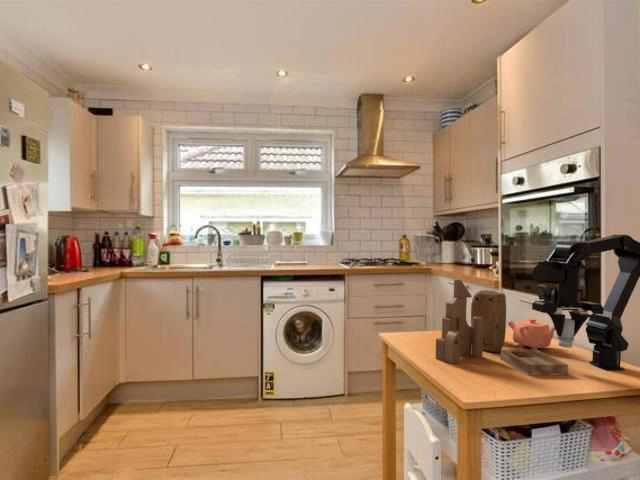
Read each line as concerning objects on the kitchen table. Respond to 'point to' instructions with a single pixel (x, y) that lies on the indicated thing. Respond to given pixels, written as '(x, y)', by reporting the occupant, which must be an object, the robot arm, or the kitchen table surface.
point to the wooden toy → (459, 329)
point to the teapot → (532, 333)
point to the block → (490, 318)
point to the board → (534, 362)
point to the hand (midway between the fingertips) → (566, 335)
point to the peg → (567, 333)
